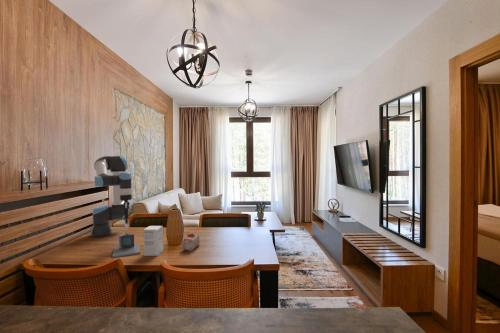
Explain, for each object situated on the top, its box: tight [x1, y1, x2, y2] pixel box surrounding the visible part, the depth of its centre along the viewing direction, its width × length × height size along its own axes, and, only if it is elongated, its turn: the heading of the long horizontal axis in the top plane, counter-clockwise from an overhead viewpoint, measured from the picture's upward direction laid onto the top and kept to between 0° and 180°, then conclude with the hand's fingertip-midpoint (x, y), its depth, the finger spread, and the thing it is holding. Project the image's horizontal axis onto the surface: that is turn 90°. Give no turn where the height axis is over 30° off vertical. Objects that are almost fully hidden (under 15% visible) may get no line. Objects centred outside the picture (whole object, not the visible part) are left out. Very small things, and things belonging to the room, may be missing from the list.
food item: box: [181, 233, 200, 252], centre depth 177 cm, size 14×8×10 cm, turn 169°
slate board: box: [111, 243, 141, 259], centre depth 172 cm, size 18×16×1 cm
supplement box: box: [142, 225, 164, 257], centre depth 168 cm, size 10×9×17 cm
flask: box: [118, 231, 135, 249], centre depth 176 cm, size 9×3×11 cm, turn 115°
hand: (126, 227), depth 183 cm, fingers closed
